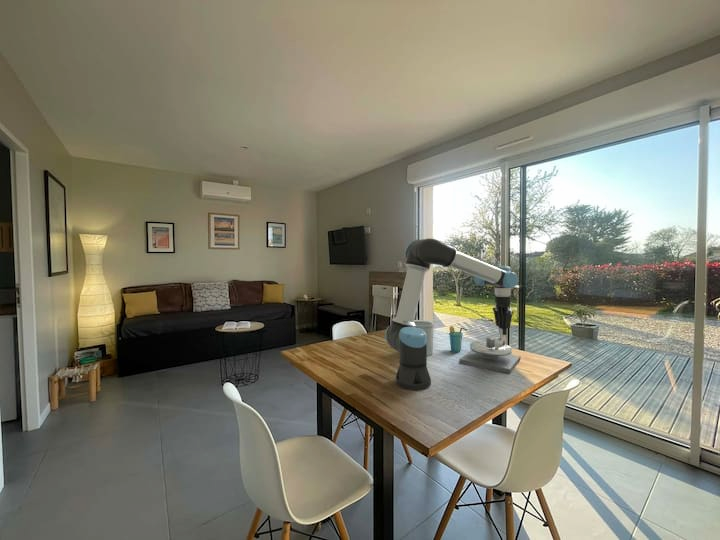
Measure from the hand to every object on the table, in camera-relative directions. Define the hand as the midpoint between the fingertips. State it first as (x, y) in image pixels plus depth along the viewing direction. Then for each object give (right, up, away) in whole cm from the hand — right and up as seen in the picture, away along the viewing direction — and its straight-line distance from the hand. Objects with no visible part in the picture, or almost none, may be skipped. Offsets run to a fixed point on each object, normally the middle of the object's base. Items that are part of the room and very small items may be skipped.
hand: (502, 340), depth 159 cm
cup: (-19, -11, +16) cm, 27 cm away
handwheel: (-7, -5, -1) cm, 9 cm away
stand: (-7, -11, -1) cm, 13 cm away
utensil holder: (-40, -11, +15) cm, 44 cm away
